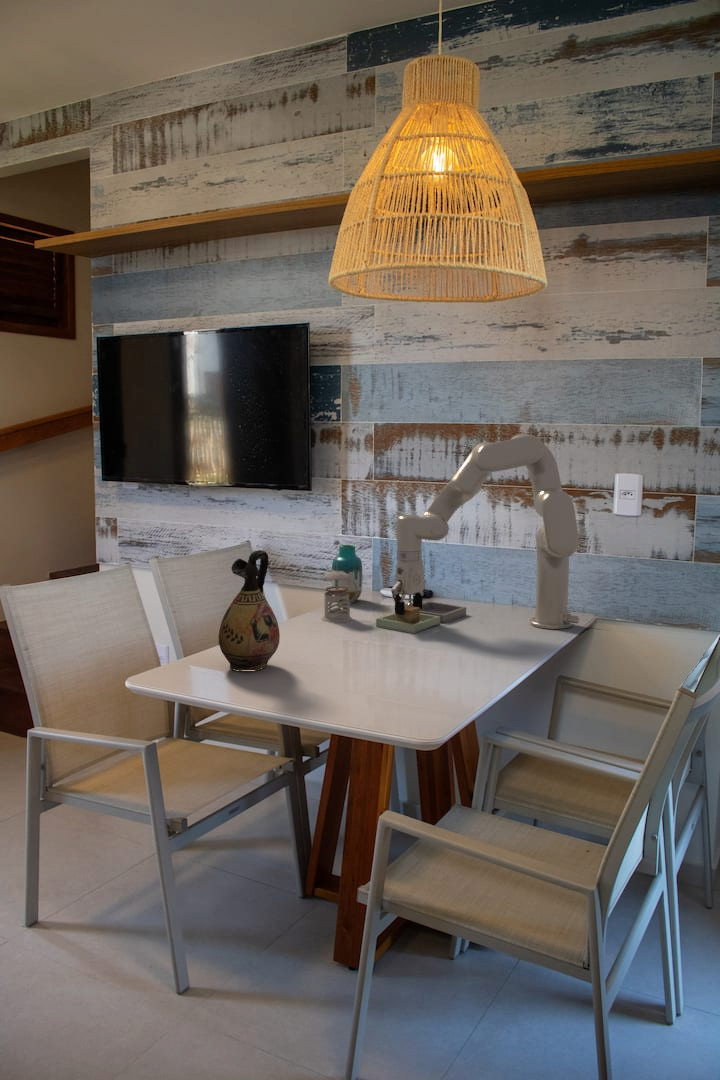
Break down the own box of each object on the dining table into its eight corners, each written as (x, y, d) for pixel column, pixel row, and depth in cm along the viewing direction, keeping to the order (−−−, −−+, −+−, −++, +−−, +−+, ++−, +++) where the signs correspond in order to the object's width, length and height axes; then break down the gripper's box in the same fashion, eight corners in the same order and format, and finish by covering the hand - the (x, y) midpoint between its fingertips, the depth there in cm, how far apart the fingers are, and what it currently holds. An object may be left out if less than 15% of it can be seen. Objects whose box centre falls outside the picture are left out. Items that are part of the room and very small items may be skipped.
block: (419, 623, 266) (419, 607, 265) (410, 626, 262) (410, 610, 261) (406, 621, 269) (406, 605, 268) (396, 624, 265) (396, 608, 264)
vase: (368, 602, 298) (368, 546, 295) (341, 605, 292) (341, 549, 290) (352, 596, 307) (353, 542, 304) (326, 599, 302) (326, 544, 299)
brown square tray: (466, 614, 280) (466, 607, 279) (443, 623, 269) (443, 615, 268) (429, 608, 288) (429, 601, 288) (405, 616, 277) (405, 609, 276)
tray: (439, 624, 267) (440, 616, 267) (414, 633, 256) (414, 625, 256) (402, 617, 275) (402, 610, 275) (376, 626, 264) (376, 618, 264)
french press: (317, 616, 277) (317, 538, 273) (352, 614, 280) (352, 537, 277) (325, 623, 268) (325, 543, 264) (361, 621, 271) (362, 541, 267)
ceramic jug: (255, 679, 212) (253, 558, 207) (206, 669, 220) (204, 552, 215) (295, 662, 226) (294, 549, 222) (248, 654, 234) (247, 544, 230)
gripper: (403, 561, 253) (403, 618, 256) (435, 553, 267) (434, 607, 270) (382, 558, 258) (382, 614, 260) (414, 551, 271) (414, 604, 274)
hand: (408, 611), depth 265 cm, fingers open, 9 cm apart
